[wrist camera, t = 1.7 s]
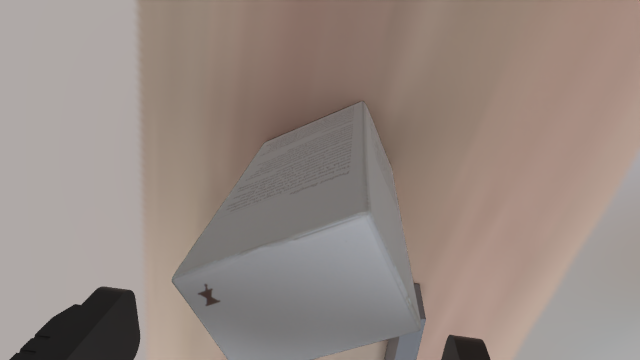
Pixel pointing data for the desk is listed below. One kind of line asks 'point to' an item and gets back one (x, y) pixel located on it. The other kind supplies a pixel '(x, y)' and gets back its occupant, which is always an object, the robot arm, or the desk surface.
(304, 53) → the desk surface
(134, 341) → the robot arm
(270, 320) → the skincare box
